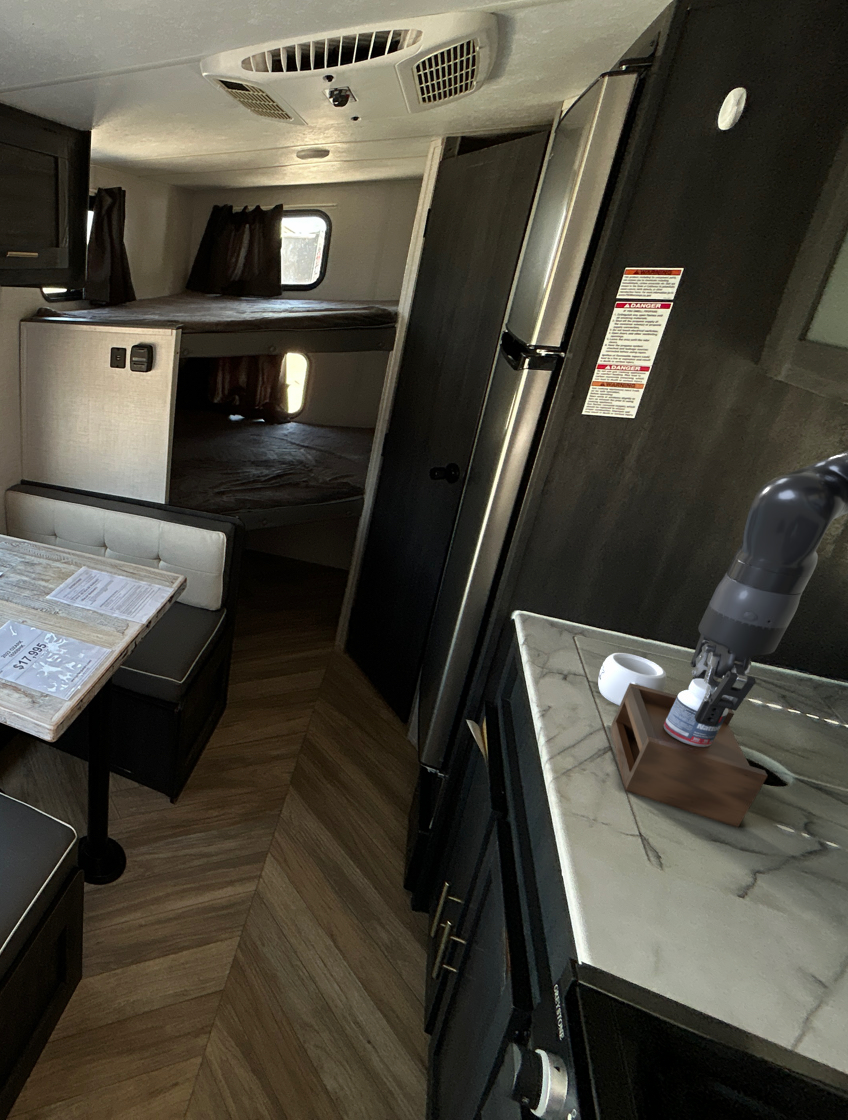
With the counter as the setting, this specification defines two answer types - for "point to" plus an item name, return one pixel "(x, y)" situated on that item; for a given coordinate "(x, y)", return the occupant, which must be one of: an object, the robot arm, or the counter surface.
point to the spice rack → (681, 761)
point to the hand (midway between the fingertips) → (699, 711)
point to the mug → (628, 675)
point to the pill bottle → (691, 717)
